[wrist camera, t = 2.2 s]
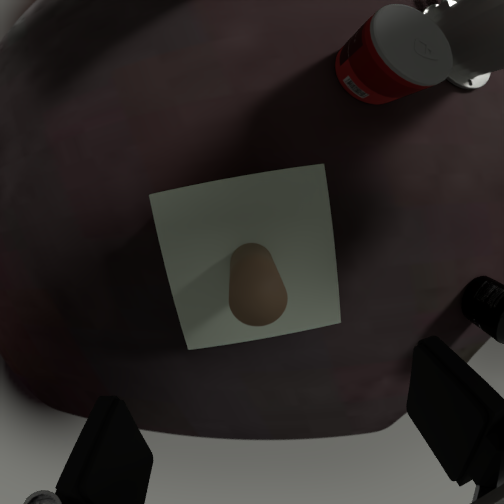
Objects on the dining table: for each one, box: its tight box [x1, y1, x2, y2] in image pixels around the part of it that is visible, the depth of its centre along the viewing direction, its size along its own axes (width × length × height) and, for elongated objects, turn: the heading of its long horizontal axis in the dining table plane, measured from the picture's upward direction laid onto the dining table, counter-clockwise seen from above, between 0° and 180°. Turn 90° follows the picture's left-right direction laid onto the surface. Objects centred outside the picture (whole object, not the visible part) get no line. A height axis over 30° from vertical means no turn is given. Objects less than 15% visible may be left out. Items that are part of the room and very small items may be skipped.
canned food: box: [335, 4, 453, 104], centre depth 24 cm, size 8×8×11 cm
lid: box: [149, 164, 341, 350], centre depth 21 cm, size 13×13×8 cm
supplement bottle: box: [462, 276, 504, 344], centre depth 31 cm, size 7×7×12 cm
